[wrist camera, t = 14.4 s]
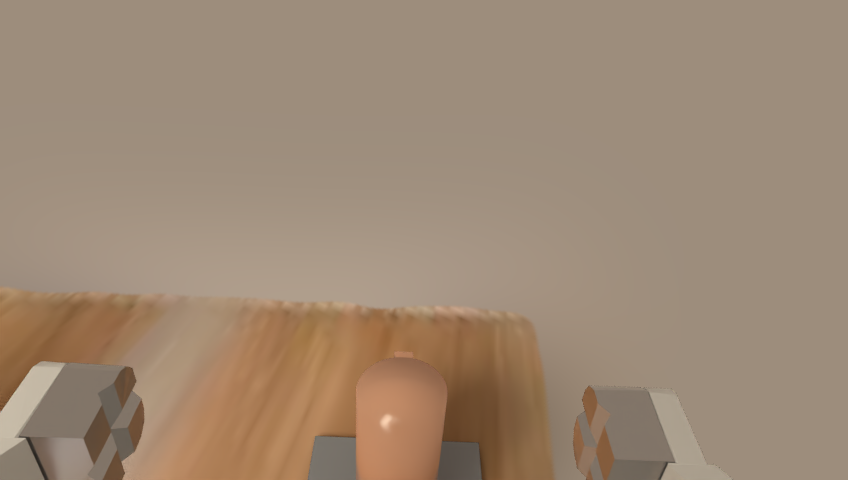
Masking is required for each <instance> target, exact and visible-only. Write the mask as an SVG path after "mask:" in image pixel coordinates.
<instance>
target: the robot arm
mask: <svg viewBox="0 0 848 480" xmlns="http://www.w3.org/2000/svg"><path fill="white" fill-rule="evenodd" d="M135 383H136V378H135V375H134V372H133V369H132V368H130V367H127V366H113V365H99V364H84V363H62V362H47V361H41V362H40V363H38V364H36V365H35V366H33V367H32V368H31V370H30V371H29V373H28V374H27V375H26V377H25V378H24V380H23V381H22V383H21V384H20V385H19V387H18V388H17V390H16V391H15V392H14V394H13V395H12V397H11V398H10V399H9V401H8V402H7V404H6V405H5V406H4V408H3V409H2V411H1V412H0V480H122V479H123V476H124V474H125V472H124V469H123V466H122V463H121V461H123V460H124V459H125V458H127V457H128V456H129V455H131V454H132V453H133V452H135V450H136V447H137V445H138V443H139V440H140V438H141V434H142V429H143V424H144V407H143V403H142V399H141V398H140V397H139V396H138V395H136V394H135V393H134V392H133V391H132V389H133V387H134V385H135ZM582 401H583V405H584V409H585V411H584V412H583V413H581V414H580V415H579V416H578V417H577V420H576V423H575V427H574V440H573V446H574V454H575V460H576V464H577V468H578V469H579V470H580V472H581V473H582V474H583V475H584V476H586V480H733V479H732V478H731V477H730V476H728V475H727V474H726V473H725V472H724V471H723V470H721V469H720V468H719V467H718V466H717V465H709V464H707V462H706V460H705V457H704V455H703V453H702V451H701V448H700V446H699V444H698V441H697V439H696V437H695V435H694V432H693V430H692V428H691V426H690V423H689V421H688V419H687V417H686V415H685V412H684V410H683V408H682V405H681V403H680V401H679V399H678V396H677V394H676V393H675V392H674V391H673V390H672V389H668V388H667V389H666V388H641V387H615V386H614V387H613V386H588V387H587V389H586V390H585V393H584V396H583V399H582Z"/></svg>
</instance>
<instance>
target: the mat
mask: <svg viewBox="0 0 848 480" xmlns="http://www.w3.org/2000/svg"><path fill="white" fill-rule="evenodd" d="M308 480H356V438H350V437H326V436H315V441H314V446H313V452H312V458H311V464H310V470H309V475H308ZM437 480H482V476H481V464H480V452H479V443H474V442H449V441H442V445H441V453H440V461H439V469H438V478H437Z"/></svg>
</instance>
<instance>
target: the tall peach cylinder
mask: <svg viewBox="0 0 848 480" xmlns="http://www.w3.org/2000/svg"><path fill="white" fill-rule="evenodd" d="M447 395H448V391H447V386H446V383H445V380H444V379H443V377H442V376H441V374H440V373H439V372H438V371H437V370H436V369H435V368H433V367H432V366H430V365H429V364H427V363H425V362H423V361H420V360H417V359H413V352H400V351H395V352H394V358H389V359H385V360H381V361H379V362H377V363H375V364H373V365H371V366H370V367H369V368H367V369H366V370H365V371H364V372H363V374H362V375H361V377H360V378H359V380H358V383H357V387H356V480H437V478H438V469H439V461H440V453H441V445H442V437H443V429H444V421H445V413H446V404H447Z"/></svg>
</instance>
